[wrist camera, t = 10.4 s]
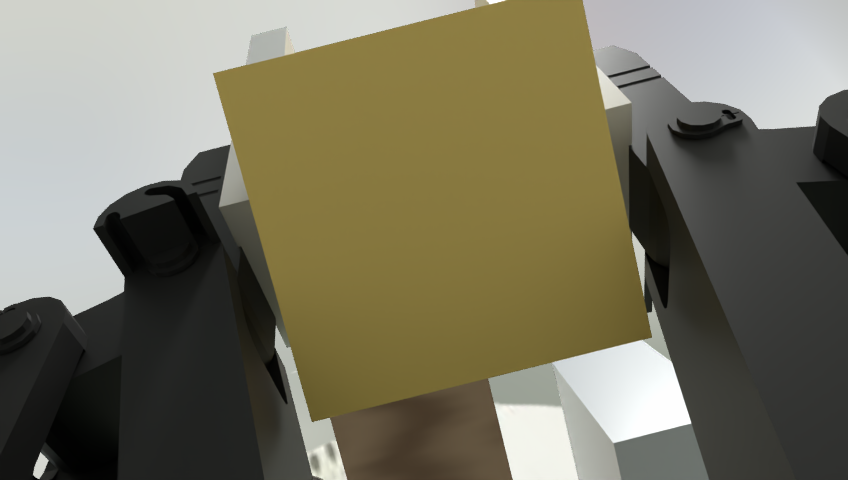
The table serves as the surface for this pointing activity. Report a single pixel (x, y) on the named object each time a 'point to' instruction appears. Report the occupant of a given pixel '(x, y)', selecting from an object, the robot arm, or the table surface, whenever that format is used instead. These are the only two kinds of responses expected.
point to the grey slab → (627, 416)
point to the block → (437, 202)
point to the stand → (425, 438)
